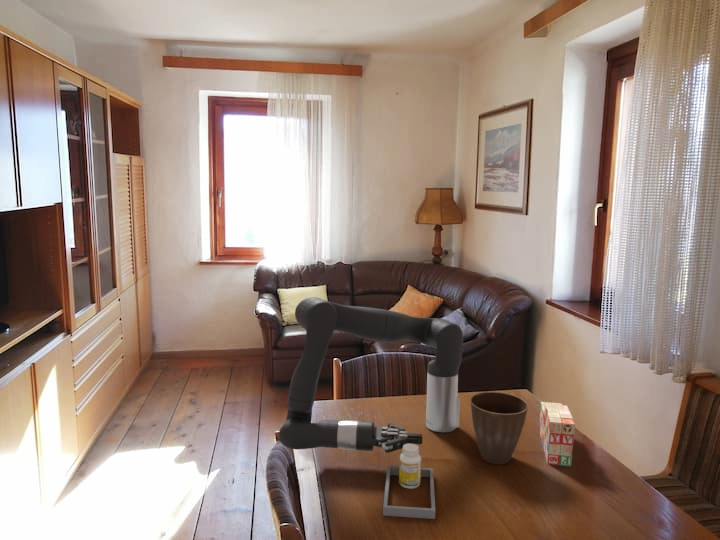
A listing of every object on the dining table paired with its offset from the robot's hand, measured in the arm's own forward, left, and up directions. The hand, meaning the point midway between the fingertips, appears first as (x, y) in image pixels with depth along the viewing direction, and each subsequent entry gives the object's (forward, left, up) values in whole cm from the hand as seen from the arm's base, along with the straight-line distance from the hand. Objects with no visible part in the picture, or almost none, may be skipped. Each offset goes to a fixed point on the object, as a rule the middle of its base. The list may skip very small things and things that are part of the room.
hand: (422, 439), depth 144 cm
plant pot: (-22, +3, -8) cm, 23 cm away
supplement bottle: (+6, +5, -8) cm, 12 cm away
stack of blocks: (-41, +5, -8) cm, 42 cm away
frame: (+9, +10, -8) cm, 16 cm away
